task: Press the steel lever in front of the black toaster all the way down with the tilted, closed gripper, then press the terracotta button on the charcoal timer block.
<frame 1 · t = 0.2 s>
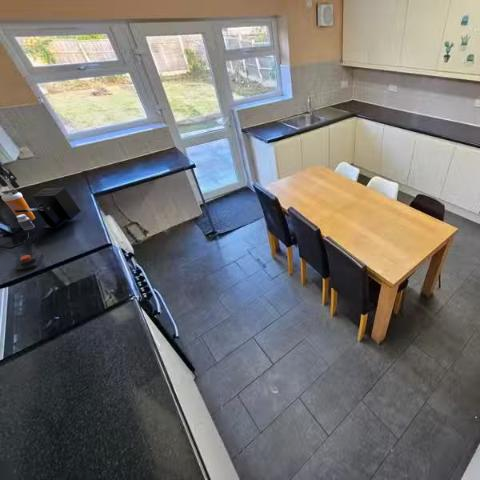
hand: (11, 187, 144), 32 cm above the worktop, tool pointing down, fingers open, 8 cm apart
lever bracket: (55, 224, 172), on the worktop
toaster: (66, 215, 180), on the worktop
toaster lever: (33, 209, 159), point 15 cm above the worktop, hinge at 26.0°
timer button: (26, 258, 141), point 4 cm above the worktop, slide at 0.1 cm
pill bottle: (29, 228, 170), on the worktop
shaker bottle: (28, 220, 177), on the worktop
timer block: (31, 264, 144), on the worktop
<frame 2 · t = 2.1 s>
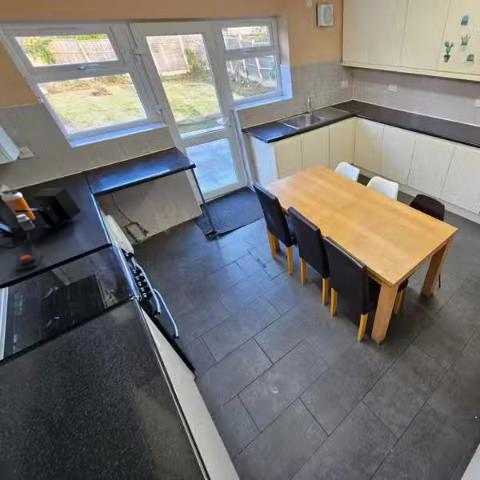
nothing on the worktop moved.
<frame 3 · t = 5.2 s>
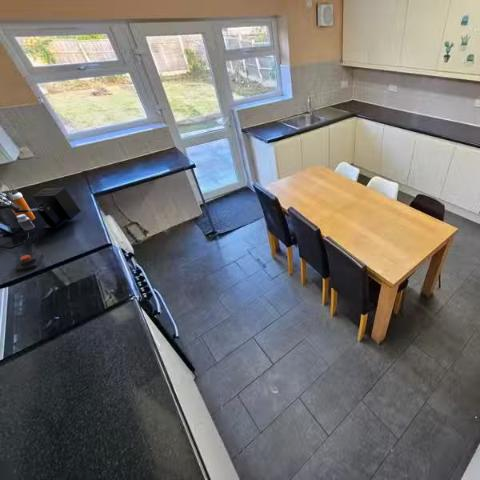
hand: (18, 209, 151), 19 cm above the worktop, tool tilted 45°, fingers closed
toaster lever: (33, 209, 159), point 15 cm above the worktop, hinge at 25.3°, touching gripper
everything else where it was.
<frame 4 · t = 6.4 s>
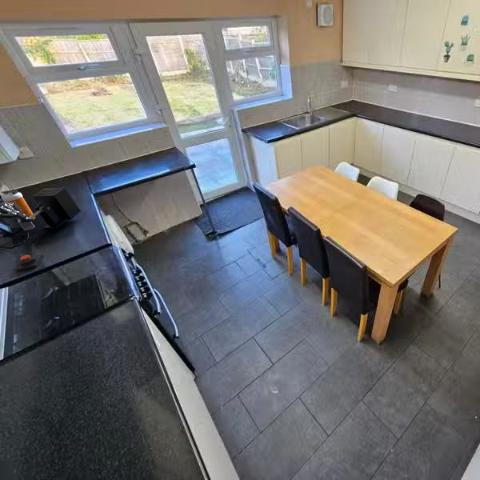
hand: (25, 218, 154), 13 cm above the worktop, tool tilted 45°, fingers closed
toaster lever: (35, 214, 160), point 12 cm above the worktop, hinge at 0.4°, touching gripper
everything else where it was.
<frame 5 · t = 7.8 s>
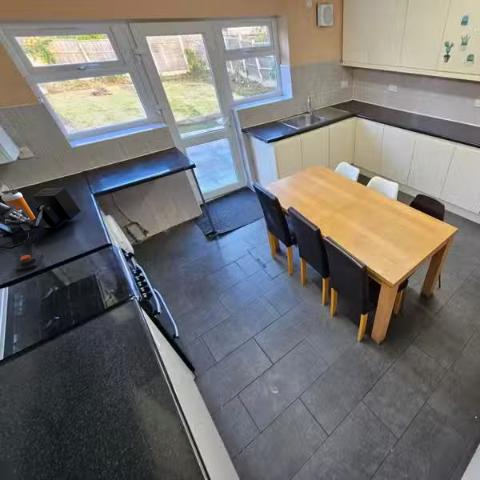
hand: (33, 224, 159), 8 cm above the worktop, tool tilted 45°, fingers closed
toaster lever: (39, 217, 162), point 9 cm above the worktop, hinge at -25.6°, touching gripper
everything else where it was.
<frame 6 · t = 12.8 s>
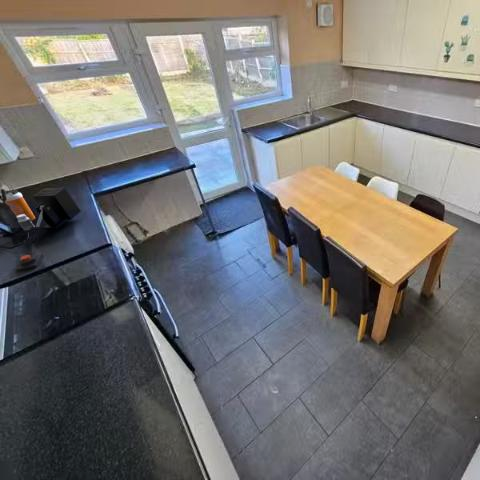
hand: (8, 209, 146), 22 cm above the worktop, tool tilted 35°, fingers closed
toaster lever: (40, 217, 163), point 9 cm above the worktop, hinge at -31.1°
everything else where it was.
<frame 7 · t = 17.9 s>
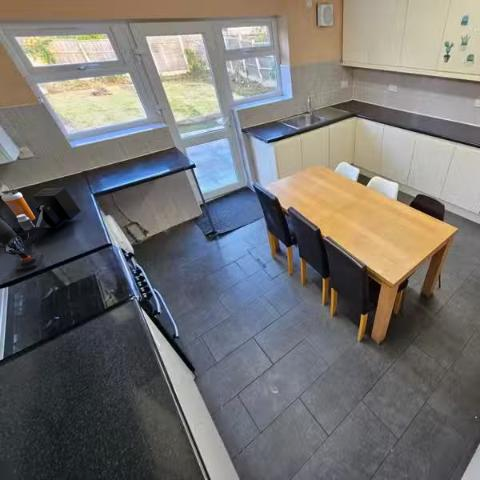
hand: (25, 257, 141), 5 cm above the worktop, tool pointing down, fingers closed
timer button: (26, 258, 141), point 4 cm above the worktop, slide at -0.2 cm, touching gripper
everything else where it was.
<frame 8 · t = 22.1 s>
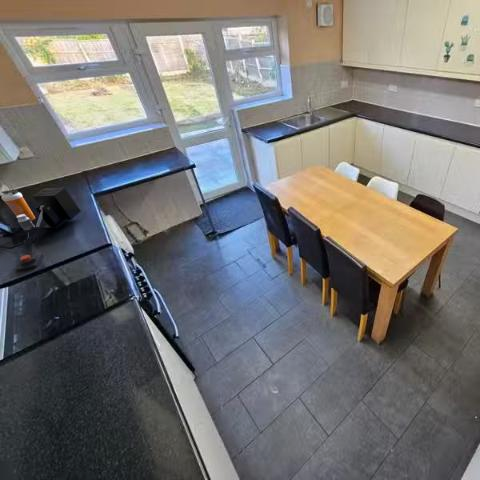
timer button: (26, 258, 141), point 4 cm above the worktop, slide at 0.1 cm
everything else where it was.
at the end: toaster lever at -31° (first picture: +26°); timer button pushed in 1.1 cm at the most during the clip, back to where it started at the end; timer button slide at 0.1 cm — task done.
